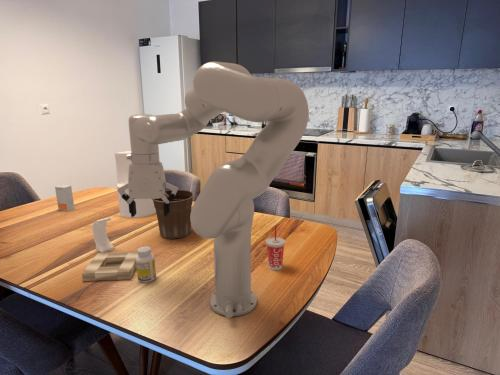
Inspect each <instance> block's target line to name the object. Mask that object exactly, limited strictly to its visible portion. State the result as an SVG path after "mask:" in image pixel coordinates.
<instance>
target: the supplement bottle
mask: <svg viewBox="0 0 500 375" xmlns="http://www.w3.org/2000/svg"><path fill="white" fill-rule="evenodd" d="M136 252H137V254H138V256H137V257H136V276H137V281H138V282H139V283H150V282H152V281H154V280H155V279H156V277H157V273H156V272H157V271H156V270H157V269H156V264H155V263H156V262H155V255H154V254H153V253H152V248H151V247H150V246H147V245H146V246H141V247H138V248H137V251H136Z"/></svg>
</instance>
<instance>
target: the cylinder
mask: <svg viewBox="0 0 500 375" xmlns="http://www.w3.org/2000/svg"><path fill="white" fill-rule="evenodd" d="M130 154H131V150H125V151H119V152H114V158H115V167H116V175H117V177H116V178H117V184H116V191H117V199H118V208H119V215H120V216H121V217H123V218H131V219H134V218H135V219H137V218H144V217H149V216H152V215H154V214H156V209H155V207H154V203H153V200H152V199H134V201H135V202H136V215H135V216H134V217H131V213H129V204H127V202H126V201H125V200H124V199H123V198H122V196H121V195H120V193H119V192H118V189H119V188H120V187H122V186H124V185H126V184H128V173H129V164H131V163H132V162H131V160H130V159H127V155H130ZM125 193H126V194H128V195H129V190H128V189H126V190H125Z"/></svg>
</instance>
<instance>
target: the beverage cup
mask: <svg viewBox="0 0 500 375" xmlns="http://www.w3.org/2000/svg"><path fill="white" fill-rule="evenodd" d="M265 244H266V256H267V267H268V269H269V270H272V271H279V270H282V268H283V261H284V251H285V244H286V240H285V239H283V238H282V237H277V226H276V225H274V237H269V238H267V239H266V240H265Z"/></svg>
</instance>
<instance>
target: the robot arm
mask: <svg viewBox="0 0 500 375" xmlns="http://www.w3.org/2000/svg"><path fill="white" fill-rule="evenodd" d="M192 83H193V84H192V86H193V87H192V88H190V89H189V90H188V91H187V92H186V94H185V96H184V104H185V109H183V110H182V111H180V112H177V113H167V114H156V115H153V114H147V113H145V114H144V113H143V114H133V115H130V116H129V118H128V131H129V142H130V151H131V154H130V155H127V159H130V160H131V162H132V163H131V164H129V173H128V184H126V185H124V186H122V187H120V188H119V189H118V192H119V193H120V195H121V196H122V198H123V199H124V200H125V201H126V202H127V204H129V213H131V217H134V216H135V215H136V202H135V201H134V199H158V198H161V199H162V200H163V201H164V202H165V203H164V216H167V215H168V213H170V201H171V200H172V199H173V198H174V197H175V195H176V193H177V191H178V190H179V187H178V186H176V185H173V184H172V183H169V182H167V181H166V174H165V170H164V166H163V163H162V161H160V150H159V145H162V144H163V145H164V144H168V143H173V142H180V141H185V140H186V139H189V138H191V137H192V136H194V135H196V134H198V133H199V132H201V131H203V130H204V129H205V128H206V126H207V125H208V124H209V122H210V121H211V120H213V119H214V118H216V117H218V116H219V115H221V114H222V113H226V114H229V115H232V116H233V117H236V118H239V119H242V120H244V121H248V122H251V123H263V122H267V123H266V125H265V126H264V127H263V128H262V129H261V131H259V133H258V134H257V135H256V137H255V138H254V139H253V141H252V142H251V145H250V146H249V147H248V149H247V150H246V152H245V153H244V154H243V155H242V156H241V157H239V158H237V159H234V160H231V161H227V162H224V163H223V164H221V165H219V166H218V167H216V168H215V169H214V170H213V171H212V173H211V174H210V176H208V178H207V180H206V182H205V183H204V186H203V187H202V189H201V190H200V192H199V194H198V196H197V197H196V199H195V200H194V203H192V207H191V214H190V221H191V229H192V230H193V232H195V234H196V235H198V236H199V237H201V238H203V239H209V240H212V239H213V263H214V264H213V266H214V267H213V268H214V269H213V270H214V287H215V288H214V290H215V291H214V292H213V293H212V295H210V297H209V305H210V308H211V309H212V310H213V312H215V313H216V314H219V315H222V316H224V317H226V318H227V319H229V318H232V317H239V316H244V315H246V314H249V313H251V312H252V311H253V310H254V309H255V308H256V306H257V303H258V297H257V295H256V293H255V292H254V291H252V256H251V255H252V228H253V227H252V226H253V222H254V216H255V215H254V214H255V204H254V199H255V198H257V197H259V196H260V195H263V194H264V193H265V192H266V191H267V190H268V188H269V186H270V185H271V183H272V181H274V179H275V177H276V176H277V175H278V174H279V172H280V170H281V169H282V168H283V167H284V165H285V163H286V161H287V160H288V159H289V157H290V156H291V154H292V153H293V152H294V150H295V149H296V147H297V146H298V145H299V143H300V142H301V140H302V138H303V136H304V134H305V133H306V132H305V131H306V129H307V126H308V123H309V116H310V115H309V114H310V112H309V103H308V99H307V97H306V94H305V93H304V91H303V90H302V89H301V87H300V86H299V85H298V84H296V83H295V82H293V81H291V80H289V79H285V78H277V77H258V76H254V75H252V74H251V73H250V72H249V70H248V69H247V68H245V67H244V66H242V65H241V64H237V63H232V62H223V61H209V62H205V63H204V64H202V65H201V66H200V67H199V68H198V69H197V70H196V72H195V74H194V76H193V82H192ZM126 189H128V190H129V195H128V194H126V193H125V190H126ZM166 190H172V193H171V195H170V196H168V195H167V194H166ZM118 192H117V193H118Z"/></svg>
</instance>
